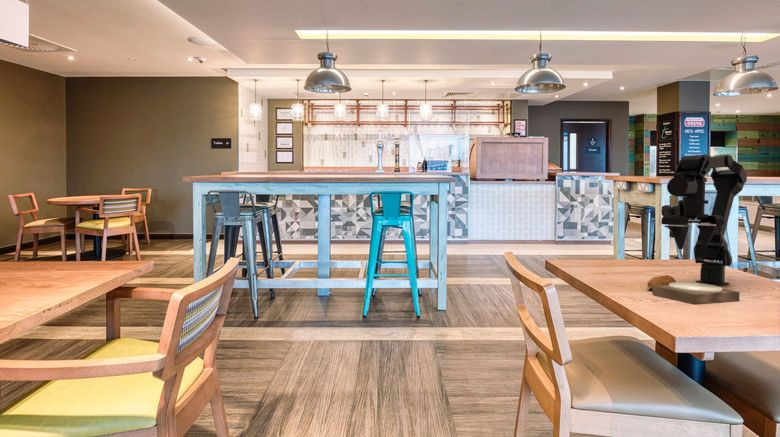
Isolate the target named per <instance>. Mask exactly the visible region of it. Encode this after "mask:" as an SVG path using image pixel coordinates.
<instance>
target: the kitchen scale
mask: <svg viewBox="0 0 780 437" xmlns="http://www.w3.org/2000/svg"><path fill="white" fill-rule="evenodd" d="M740 292H741V291H738V290H732V289H726V288H723V287H722V286H719V285H712V284H706V283H700V282H691V281H690V282H687V281H685V282H684V281H676V282H673V283H669V285H663V286H653V288H652V296H656V297H661V298H665V299H668V300H674V301H678V302H682V303H688V304H692V305H703V304H715V303H717V304H718V303H727V302H731V303H732V302H740Z"/></svg>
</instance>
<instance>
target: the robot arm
mask: <svg viewBox="0 0 780 437" xmlns="http://www.w3.org/2000/svg"><path fill="white" fill-rule="evenodd" d="M718 168H728V169H719V170H717V169H718ZM708 173H710V177H711V179H712V182H713V183H712V184H713V186H714V188H715V190H716V195H715V198H714V203H713V206H712V211H711V213H710V214H708V213H705V209H706V208H705V205H708V204H709V200H706V183H707V182H708V178H707V177H705V176H706V175H707V174H708ZM747 178H748V176H747V173H746V170H745V168H744V166H743V165H742V164H741V163H739V162H737V161H736V160H734V159H733V156H732V155H731V154H728V153H727V154H717V155H715V154H714V155H713V156H711V155H709V154H705V153H703V154H694V155H693V154H691V155H689V154H688V155H683V156H682V157H681V158H680V159H679V161H678V162H677V165H676V168H675V171H674V172H673V175H672V178H670V179H669V181H668V182H667V184H666V190H667V192H668V194H670V196H673V197H682V198H681V199H682V200H681V199H679V200H678V202H677V205H676V206H671V205H670V204H665V205H662V206H661V215H662V217H661V222H660V223H661V225H664V227H665V228H667V229H668V230H670V231H671V234H672V236H673V238H674V240H675V244H676V246H677V249H678V250H683V249H684V247H685V246H684V245H685V242H686V240H687V239H686V238H687V235H688V232H689V225H688V224H697V225H696V227H697V228H698V230H699V231H700V232H699V234H698V235H697V239H696V242H695V245H694V247H693V253H694V262H695V264H700V272H699V273H700V274H699V275H700V276H699V279H698V280H697V279H696V281H695V283H702V284H709V285H715V286H719V285H720V286H721V285H722V286H723V285H730V282H728V281H727V282H726V281H725V279H726V278H725V277H726V275H725V274H726V267H732V263H733V257H732V255H731V252H730V250H729V248H728V247H729V244H728V242H727V239H726V238H725V233H726V230H727V226H728V222H729V218H730V214H731V210H732V208H733V207H732V206H733V203H734V199H735V196H737V195H738V194H739V193H740V192H742V191H743V188H744V186H745V184H746V183H747V180H748V179H747ZM686 225H687V226H686Z"/></svg>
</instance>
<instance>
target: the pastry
mask: <svg viewBox="0 0 780 437" xmlns="http://www.w3.org/2000/svg"><path fill="white" fill-rule="evenodd" d="M673 282H677V281H676V279H675V278H674V276H671V275H668V274H666V275H658V276H654V277H651V279H650V280H648V282H647V284H646V285H647V289H649V288H651V289H653V286H663V285H669V283H673Z"/></svg>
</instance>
